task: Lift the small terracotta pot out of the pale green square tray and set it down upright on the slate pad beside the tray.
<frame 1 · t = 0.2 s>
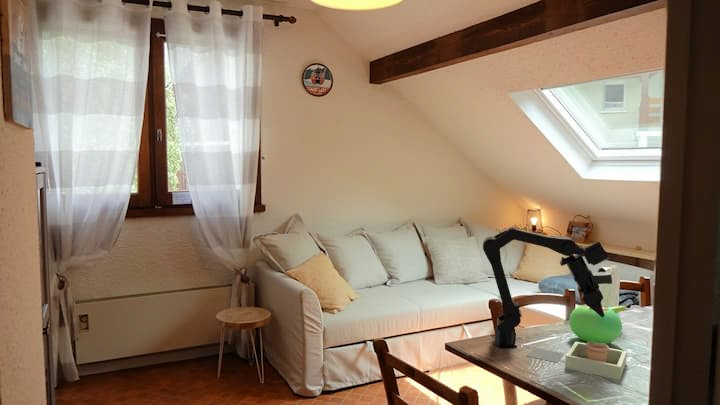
hand: (601, 312, 188), 15 cm above the table, tool tilted 30°, fingers open, 9 cm apart
slate pad: (545, 356, 187), on the table
pale green square tray: (595, 367, 179), on the table
decorative vase: (604, 324, 225), on the table
terracotta pot: (595, 365, 179), resting on pale green square tray
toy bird: (594, 342, 203), on the table
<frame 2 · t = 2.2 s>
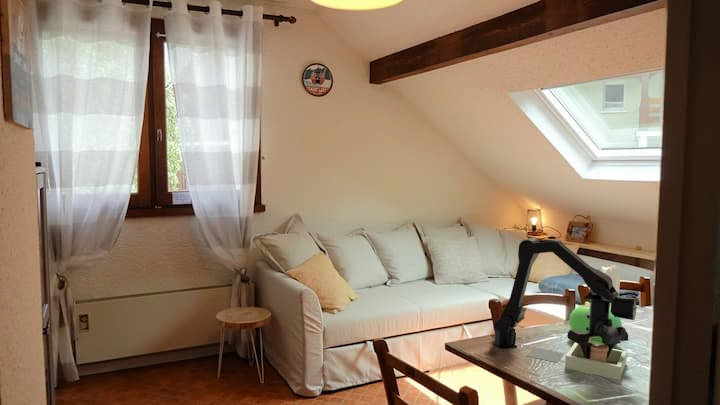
hand: (596, 360, 179), 2 cm above the table, tool pointing down, fingers closed on terracotta pot, 6 cm apart
terracotta pot: (595, 365, 179), resting on pale green square tray, touching gripper
everything else where it was.
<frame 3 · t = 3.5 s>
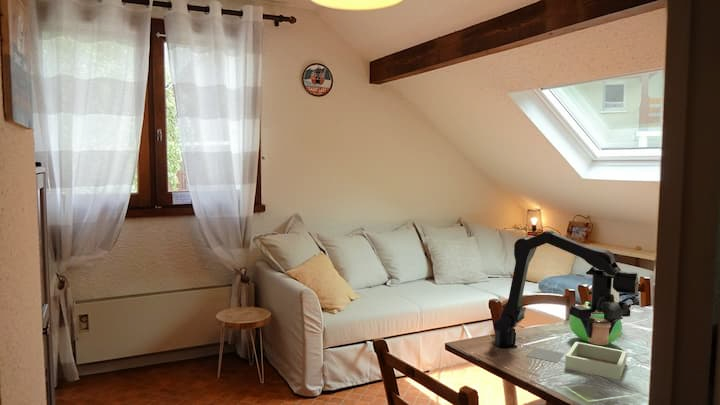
hand: (598, 337, 178), 10 cm above the table, tool pointing down, fingers closed on terracotta pot, 6 cm apart
terracotta pot: (598, 341, 178), point 8 cm above the table, touching gripper
everything else where it was.
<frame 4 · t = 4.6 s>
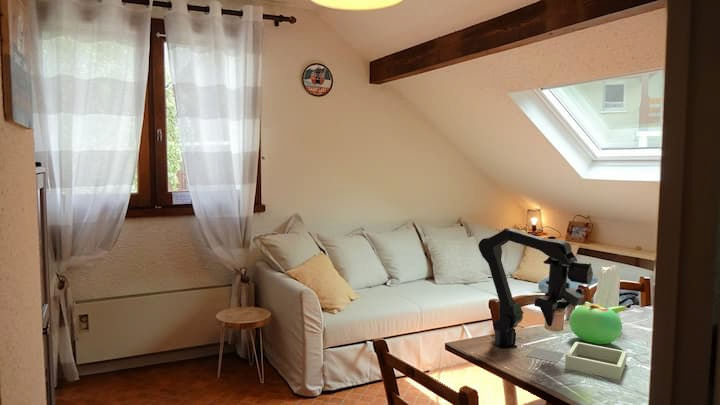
hand: (553, 324, 185), 12 cm above the table, tool pointing down, fingers closed on terracotta pot, 6 cm apart
terracotta pot: (553, 328, 185), point 10 cm above the table, touching gripper
everything else where it was.
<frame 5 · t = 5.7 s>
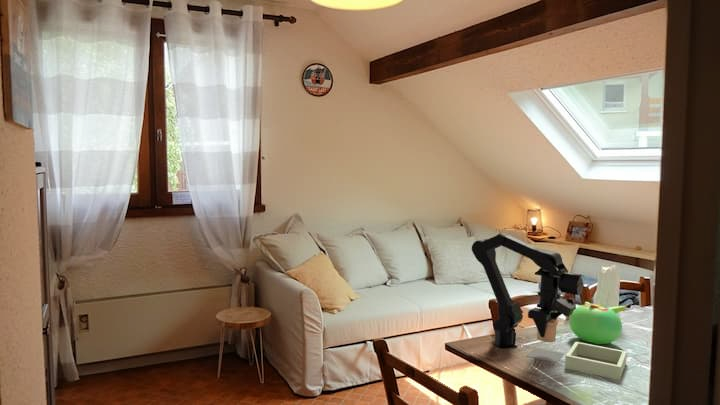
hand: (546, 334, 186), 7 cm above the table, tool pointing down, fingers closed on terracotta pot, 6 cm apart
terracotta pot: (546, 339, 187), point 6 cm above the table, touching gripper
everything else where it was.
when the fingers open (4 cm above the table, at t = 6.8 s): terracotta pot drops 2 cm, resting on slate pad.
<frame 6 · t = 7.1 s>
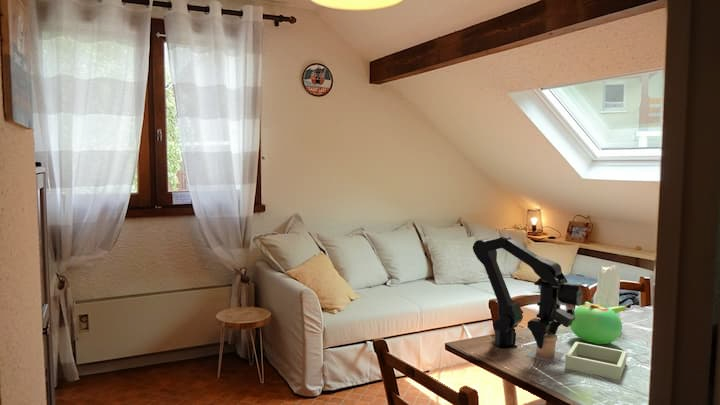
hand: (545, 344, 187), 4 cm above the table, tool pointing down, fingers open, 9 cm apart
terracotta pot: (545, 354, 187), point 1 cm above the table, touching slate pad
everything else where it was.
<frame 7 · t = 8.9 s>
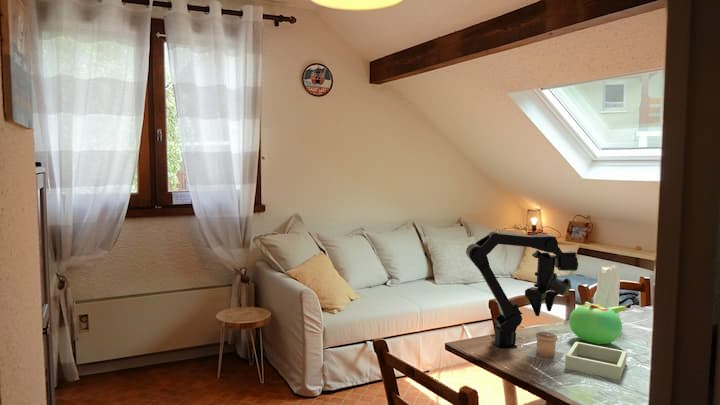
hand: (543, 313, 196), 12 cm above the table, tool pointing down, fingers open, 9 cm apart
nothing on the table moved.
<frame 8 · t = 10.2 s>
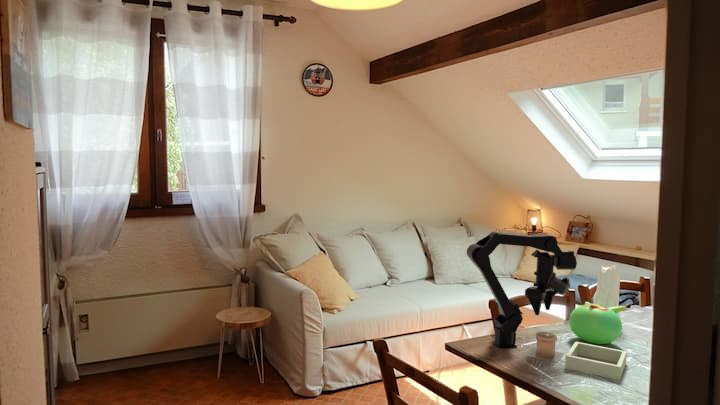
hand: (542, 312, 197), 12 cm above the table, tool pointing down, fingers open, 9 cm apart
nothing on the table moved.
at the end: terracotta pot inside the target area on the slate pad (0.0 cm from its centre), point 0.6 cm above the slate pad's base; terracotta pot tilted 1°; the gripper is holding nothing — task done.
